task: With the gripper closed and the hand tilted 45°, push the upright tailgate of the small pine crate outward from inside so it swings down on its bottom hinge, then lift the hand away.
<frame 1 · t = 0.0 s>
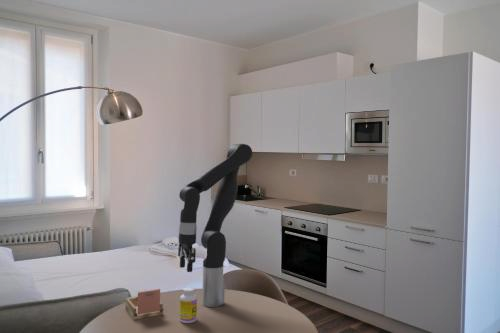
hand: (185, 269, 174), 17 cm above the table, tool pointing down, fingers open, 8 cm apart
crate: (143, 311, 169), on the table
supplement bottle: (188, 321, 161), on the table
tailgate: (149, 301, 163), point 6 cm above the table, hinge at 0.0°
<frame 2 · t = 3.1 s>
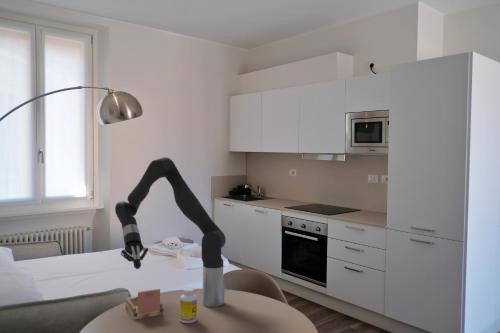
hand: (138, 267, 178), 16 cm above the table, tool tilted 45°, fingers closed
nothing on the table moved.
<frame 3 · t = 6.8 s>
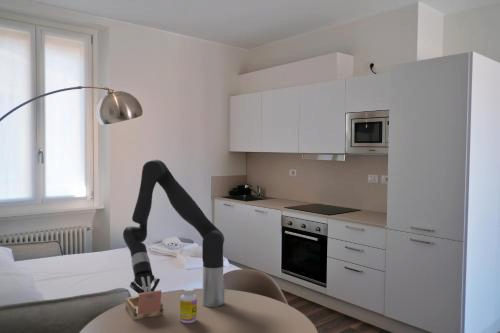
hand: (149, 301, 163), 6 cm above the table, tool tilted 45°, fingers closed
tailgate: (149, 302, 162), point 6 cm above the table, hinge at 11.6°, touching gripper
everything else where it was.
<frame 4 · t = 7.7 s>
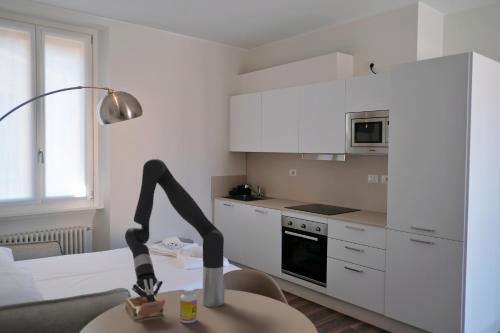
hand: (151, 305, 160), 6 cm above the table, tool tilted 45°, fingers closed
tailgate: (151, 308, 160), point 5 cm above the table, hinge at 48.2°, touching gripper
everything else where it was.
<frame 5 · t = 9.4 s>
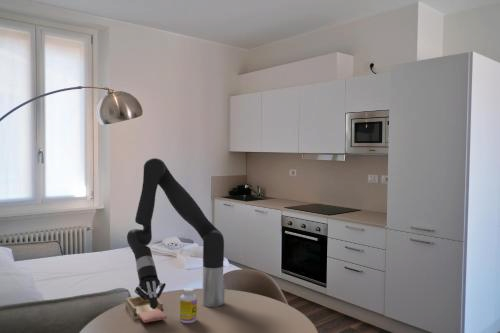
hand: (154, 307, 156), 6 cm above the table, tool tilted 45°, fingers closed
tailgate: (152, 316, 159), point 2 cm above the table, hinge at 88.3°
everything else where it was.
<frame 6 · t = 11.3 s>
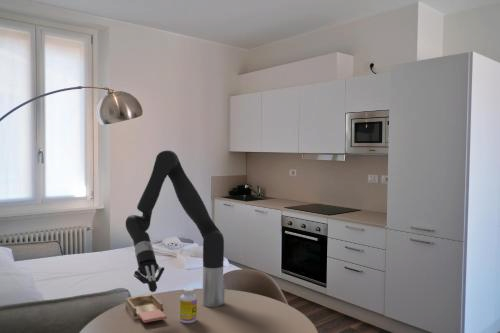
hand: (153, 291, 158), 12 cm above the table, tool tilted 45°, fingers closed
nothing on the table moved.
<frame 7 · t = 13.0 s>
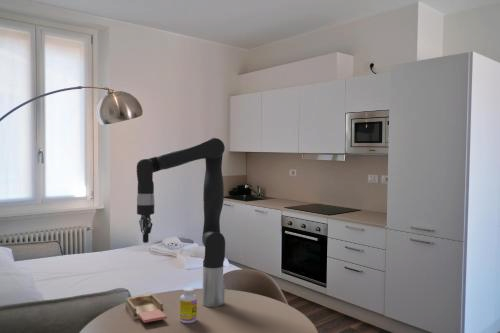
hand: (145, 242, 177), 28 cm above the table, tool pointing down, fingers closed
nothing on the table moved.
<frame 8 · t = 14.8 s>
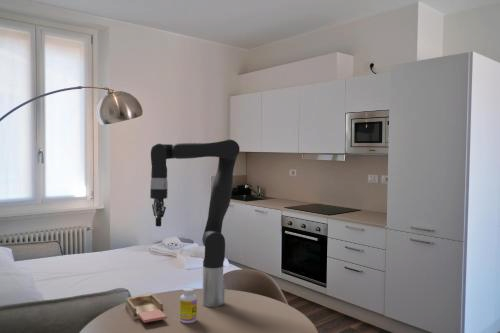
hand: (158, 226, 179), 35 cm above the table, tool pointing down, fingers closed
nothing on the table moved.
at the end: tailgate at +88° (first picture: +0°); tailgate tilted 88° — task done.
